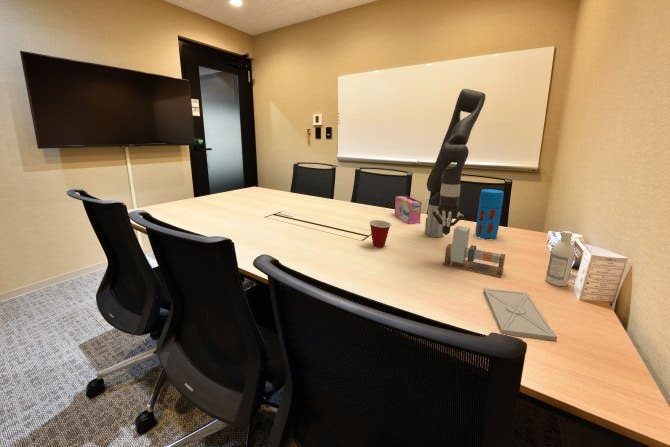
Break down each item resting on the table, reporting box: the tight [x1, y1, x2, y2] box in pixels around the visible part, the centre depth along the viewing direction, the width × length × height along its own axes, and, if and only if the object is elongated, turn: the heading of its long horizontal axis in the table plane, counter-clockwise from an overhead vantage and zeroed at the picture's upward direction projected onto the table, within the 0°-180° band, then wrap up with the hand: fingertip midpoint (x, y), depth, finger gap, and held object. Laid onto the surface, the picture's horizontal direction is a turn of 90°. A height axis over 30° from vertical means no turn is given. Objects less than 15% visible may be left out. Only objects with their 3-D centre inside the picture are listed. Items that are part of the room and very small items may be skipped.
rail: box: [442, 243, 506, 279], centre depth 129 cm, size 22×9×8 cm, turn 57°
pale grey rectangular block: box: [451, 225, 471, 263], centre depth 131 cm, size 5×6×14 cm
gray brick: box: [466, 244, 477, 262], centre depth 129 cm, size 2×5×5 cm, turn 147°
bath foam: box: [545, 230, 575, 287], centre depth 115 cm, size 7×7×20 cm
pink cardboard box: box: [394, 194, 423, 225], centre depth 201 cm, size 24×8×14 cm, turn 13°
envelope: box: [482, 287, 558, 342], centre depth 97 cm, size 24×2×14 cm
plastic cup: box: [368, 219, 392, 248], centre depth 154 cm, size 11×11×12 cm
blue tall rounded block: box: [474, 188, 505, 240], centre depth 165 cm, size 11×11×25 cm
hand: (445, 234), depth 133 cm, fingers closed
